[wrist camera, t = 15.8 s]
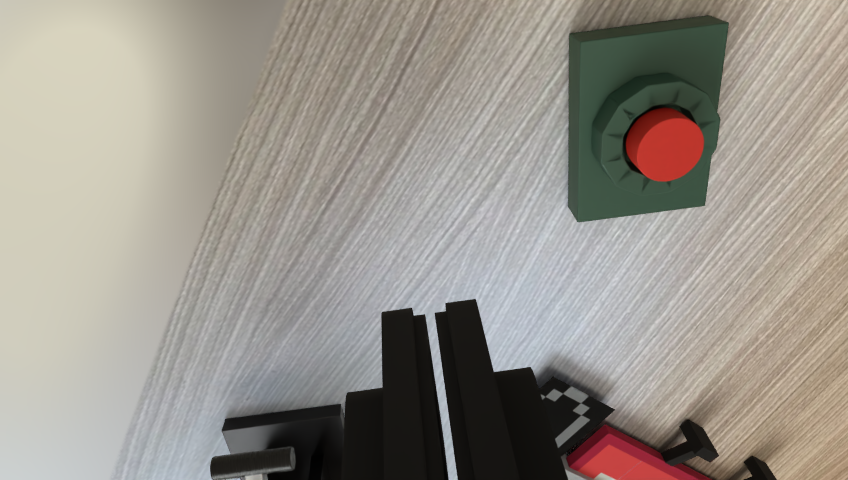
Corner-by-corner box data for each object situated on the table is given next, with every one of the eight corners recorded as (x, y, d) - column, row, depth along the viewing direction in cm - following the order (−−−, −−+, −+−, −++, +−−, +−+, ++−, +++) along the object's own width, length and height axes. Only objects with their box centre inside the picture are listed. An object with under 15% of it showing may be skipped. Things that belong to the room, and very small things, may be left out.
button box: (569, 33, 34) (590, 49, 31) (710, 15, 34) (747, 28, 31) (567, 207, 40) (585, 237, 36) (689, 191, 40) (719, 219, 36)
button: (627, 112, 33) (639, 122, 32) (693, 103, 33) (708, 113, 32) (623, 172, 35) (634, 185, 33) (686, 165, 35) (700, 177, 33)
